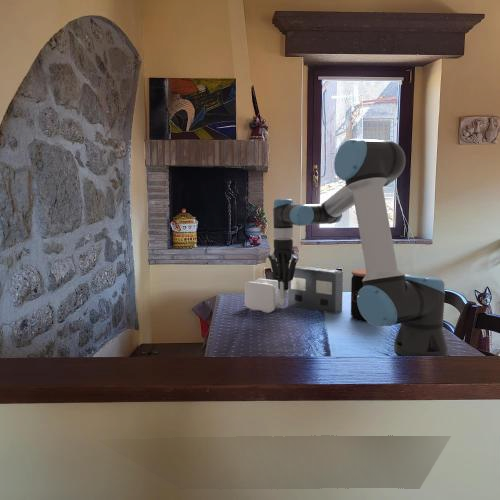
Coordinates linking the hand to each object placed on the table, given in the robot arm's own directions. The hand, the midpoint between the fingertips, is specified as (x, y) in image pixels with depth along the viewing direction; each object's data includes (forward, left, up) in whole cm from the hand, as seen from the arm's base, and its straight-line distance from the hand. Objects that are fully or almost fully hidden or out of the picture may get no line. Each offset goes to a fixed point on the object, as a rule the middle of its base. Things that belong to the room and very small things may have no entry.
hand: (283, 297), depth 177 cm
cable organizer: (+1, +10, -7) cm, 12 cm away
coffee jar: (+12, -29, -6) cm, 32 cm away
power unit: (+14, -6, -6) cm, 17 cm away
